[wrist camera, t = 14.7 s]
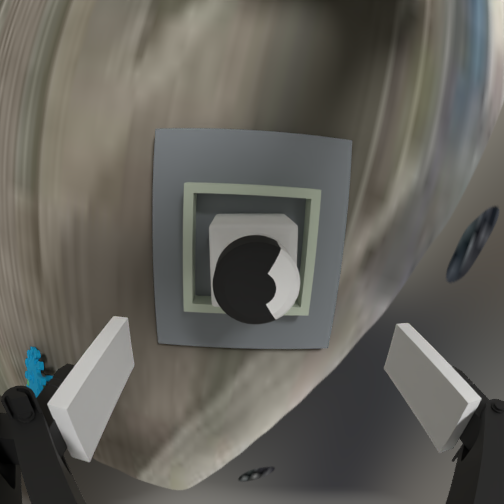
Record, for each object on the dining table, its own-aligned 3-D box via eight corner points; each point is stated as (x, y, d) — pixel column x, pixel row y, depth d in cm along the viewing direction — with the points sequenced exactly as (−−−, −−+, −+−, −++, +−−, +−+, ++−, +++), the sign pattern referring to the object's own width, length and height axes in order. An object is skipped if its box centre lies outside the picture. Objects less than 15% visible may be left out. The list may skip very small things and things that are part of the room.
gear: (30, 334, 36) (41, 395, 31) (63, 338, 41) (77, 395, 36) (18, 365, 40) (28, 417, 34) (46, 367, 44) (58, 417, 39)
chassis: (158, 130, 33) (149, 125, 29) (347, 141, 34) (360, 138, 30) (160, 337, 39) (153, 353, 35) (325, 342, 40) (333, 358, 36)
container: (216, 280, 36) (206, 336, 23) (215, 213, 34) (201, 236, 21) (283, 280, 36) (306, 334, 23) (285, 213, 34) (313, 235, 21)
